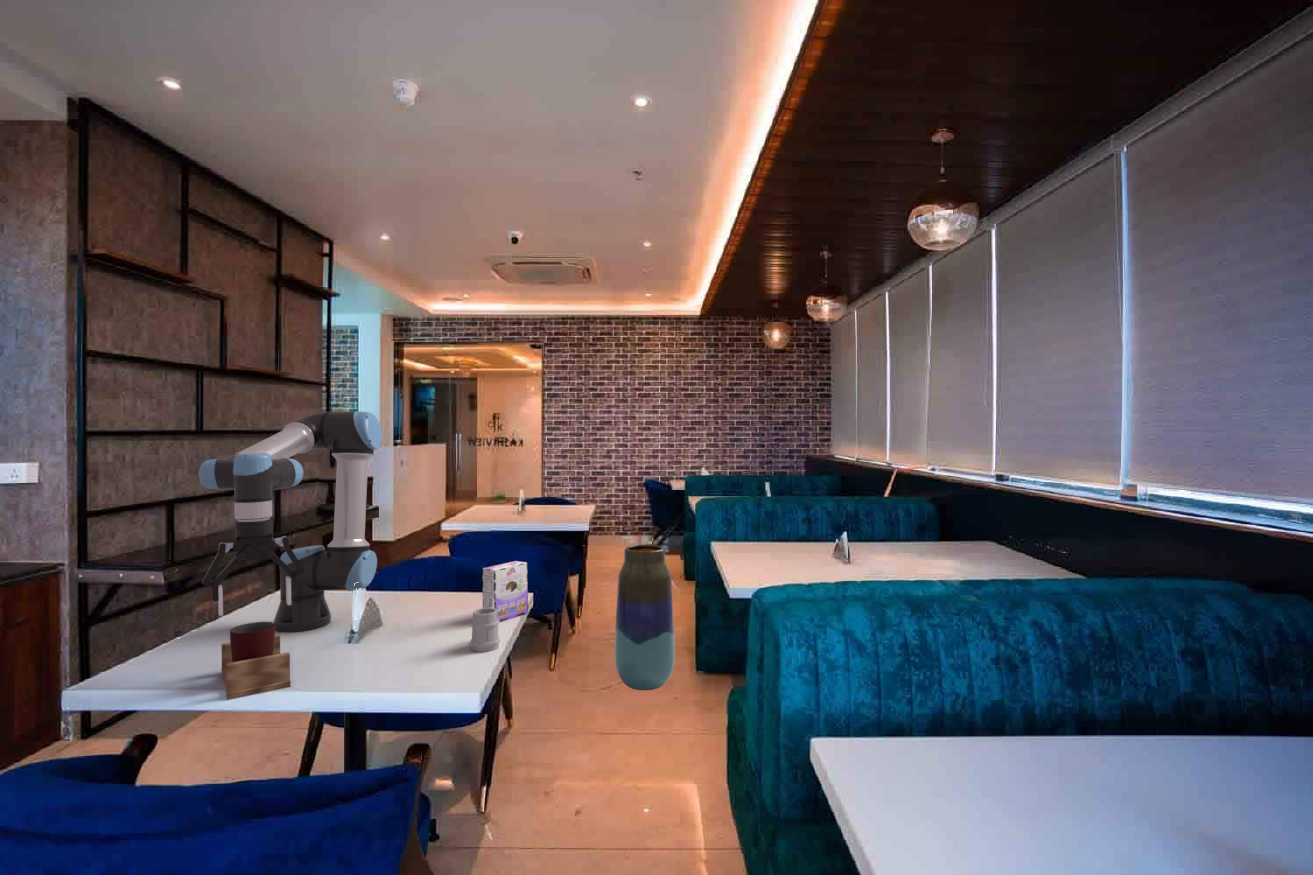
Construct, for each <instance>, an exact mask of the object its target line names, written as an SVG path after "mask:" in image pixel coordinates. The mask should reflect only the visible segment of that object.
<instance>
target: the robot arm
mask: <svg viewBox="0 0 1313 875" xmlns="http://www.w3.org/2000/svg"><path fill="white" fill-rule="evenodd" d="M381 427H382V426H381V423H380V421H379V419H378V417H376V415H375V414H374V413H372V412H369V411H360V410H355V411H320V412H316V413H312V414H309V415H306V416H303V417H301V418H298V419H296V420H293V421H292V422H290V423H288V424H285V426H284V427H283V428H282V430H281V431H279V432H276V433H275V434H273V435H271V436H269V437H267V438H265V439H263V440H260V441H259V442H256V443H255V444H252V445H251V446H248V447H246V448H245V449H242V450H241V451H238V452H237V453H234V454H232V455H231V456H228V457H226V458H221V459H220V458H215V459H207V460H205V461H203V463H201V465H200V466H199V468H198V469H199V470H198V477H199V482H200V484H201V485H202V486H203V487H204V488H205V489H209V490H219V491H222V490H223V491H224V490H226V491H227V490H233V491H234V508H233V509H234V519H236V521H235V522H234V541H233V542H225V541H224V542H223V541H221V542H219V543H218V549H217V553H216V554H215V556H214V558H213V560H212V562H211V563H210V565H209V567H208V569H207V570H206V573H205V574H204V577H203V578H202V580H201V584H202V586H203V587H210V588H211V598H212V601H213V602H217V604H218V605H217V607H218V609H217V610H218V612H217V613H218V616H219V617H221V616H224V597H223V596H224V595H223V584H221V583H222V582H223V581H224V580H225V579H226V578H227V577H228V576H229V575H230V573H232V571H233V570H234V569H235V568H236V566H238V565H239V563H240V562H242V560H247V561H251V560H255V559H264V558H265V557H266V556H267V557H268V558H269V559H270V560H272V561H273V562H274V563H275V564H276V565H278V566H279V582H280V584H279V585H280V586H279V588H280V590H279V591H280V598H279V599H280V601H279V604H278V607H277V611H276V614H275V616H274V619H273V623H274V624H275V631H277V632H284V633H285V632H288V633H289V632H290V633H292V632H304V631H309V630H314V629H318V628H320V627H321V628H322V627H324V626H327V625H329V624H330V623H331V622H332V614H331V611H330V608H329V605H328V603H327V600H326V598H325V591H347V592H351V591H359V590H358V589H359V588H362V589H361V590H364V589H366V588H367V587H368V586H369V585H371V582H372V581H373V579H374V577H375V574H376V571H377V565H378V557H377V553H375V551H373V550H370V548H371V547H370V546H371V545H370V543H369V541H367V540H366V537H365V534H366V516H367V515H366V513H367V494H368V492H367V489H368V468H369V467H368V465H369V461H370V460H371V459H372V458H373V457H374V453H375V452H374V451H376V450H378V449H379V448H380V447H381V445H382V443H383V432H382V428H381ZM312 450H314V451H315V450H331V456H333V458H334V459H335V460H336V478H335V495H334V496H335V498H334V515H333V517H334V518H333V519H334V520H333V539H332V540H331V541H330V542H329V543H328V544H327V546H326V547H327V550H325V549H326V548H325V546H324V545H320V544H319V545H318V544H317V545H310V546H304V547H299V548H294V549H292V548H291V547H290V541H289V538H288V537H287V536H286V535H283V536H281V537H276V538H274V530H273V529H274V528H273V525H274V524H273V522H274V521H273V519H272V518H271V517H272V516H273V491H277V490H283V489H285V490H288V489H290V488H292V487H295V486H297V485H299V483H301V481H302V480H303V477H304V468H303V466H302V464H301V463H300V462H299V461H298V460H296V459H294V458H291V457H293V456H295V455H297V454H305V453H307V452H310V451H312ZM276 544H278V546H279V547H282V548H283V550H284V551H285V552H283V553H282V554H281V556H280V557H279V556H278V555H276V554H275V553H274V551H272V549H273V548H274V546H275V545H276ZM230 549H231V550H232V549H233V550H234V551H235V552H236V554H235V555H234V556H233V557H232V559H231V560H230V561H229V562H228V563H227V564H226V566H225V567H224V568H223V569H222V570H221V571H220V572H219V574H217V576H216V577H215V578H213V577H214V576H215V573H216V572H217V570H218V568H219V566H220V564H221V562H222V561H223V558H224V557H225V554H226V553H228V552H229V551H230ZM356 582H359V583H356ZM354 583H356V584H355V586H354ZM356 588H357V590H356Z"/></svg>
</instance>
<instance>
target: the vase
mask: <svg viewBox="0 0 1313 875" xmlns="http://www.w3.org/2000/svg"><path fill="white" fill-rule="evenodd" d="M623 551H624V552H623V555H624V556H623V557H624V558H623V563H622V566H621V568H620V571H619V572H618V575H617V589H616V590H617V591H616V592H617V593H616V594H617V595H616V610H615V611H616V612H615V633H614V635H615V636H614V665H615V671H616V673H617V675H618V677H619V678H620V680H621V681H622V682H623V684H624V685H625V686H627V687H628V688H629V689H633V690H636V691H652V690H657V689H659V688H662V687H663V686H664V685H666V684H667V682H668V681H669V679H670V678H671V675H672V674H673V671H674V667H675V659H676V643H675V642H676V641H675V640H676V639H675V638H676V637H675V622H674V621H675V620H674V605H673V604H674V603H673V600H674V599H673V589H672V588H673V587H672V574H671V572H670V569H669V567H668V565H667V563H666V549H665V547H663V546H661V545H657V544H656V545H655V544H634V545H629V546H626V547H625V548H624V550H623Z"/></svg>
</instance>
